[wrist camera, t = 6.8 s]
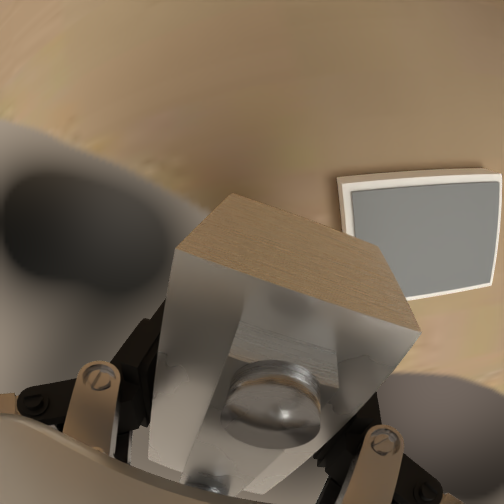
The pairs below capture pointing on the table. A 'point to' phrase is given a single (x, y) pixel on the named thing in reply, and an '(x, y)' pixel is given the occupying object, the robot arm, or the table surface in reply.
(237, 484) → the housing
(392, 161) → the table surface
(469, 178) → the tray
